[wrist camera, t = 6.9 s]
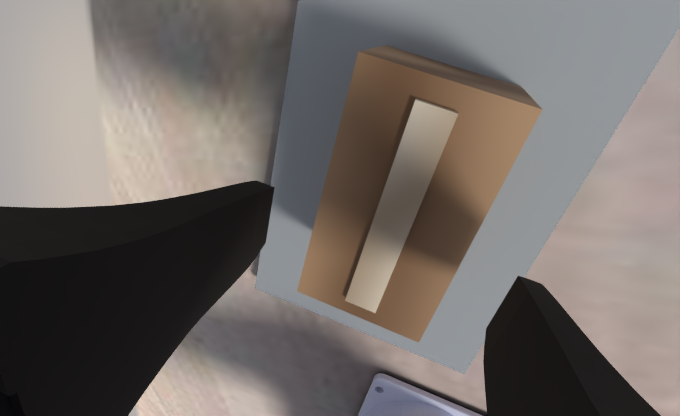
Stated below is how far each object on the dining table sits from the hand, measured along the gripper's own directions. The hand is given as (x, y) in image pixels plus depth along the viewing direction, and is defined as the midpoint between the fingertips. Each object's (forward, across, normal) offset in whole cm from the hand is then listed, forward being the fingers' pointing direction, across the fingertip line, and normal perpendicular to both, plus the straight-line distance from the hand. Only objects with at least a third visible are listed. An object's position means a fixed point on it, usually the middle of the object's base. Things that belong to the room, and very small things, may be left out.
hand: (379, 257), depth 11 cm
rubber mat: (+6, 0, 0) cm, 7 cm away
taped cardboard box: (+6, 0, 0) cm, 6 cm away
